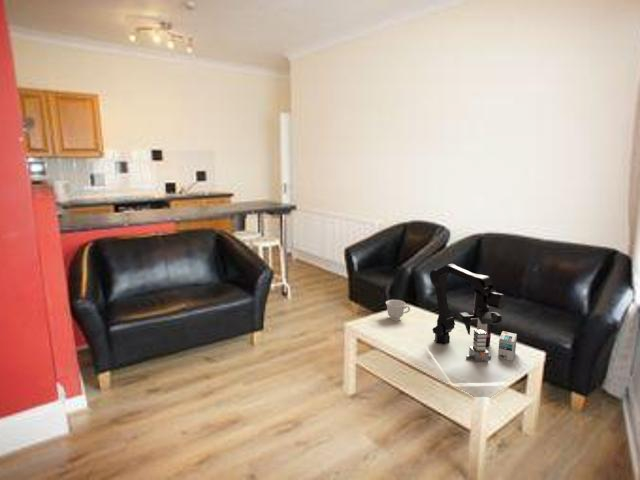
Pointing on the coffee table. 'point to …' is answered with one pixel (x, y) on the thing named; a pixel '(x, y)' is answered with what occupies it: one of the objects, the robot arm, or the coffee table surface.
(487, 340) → the beverage can
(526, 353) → the coffee table surface
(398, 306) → the teacup
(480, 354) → the stand base
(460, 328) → the coffee table surface
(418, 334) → the coffee table surface
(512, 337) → the light bulb box
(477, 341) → the column
